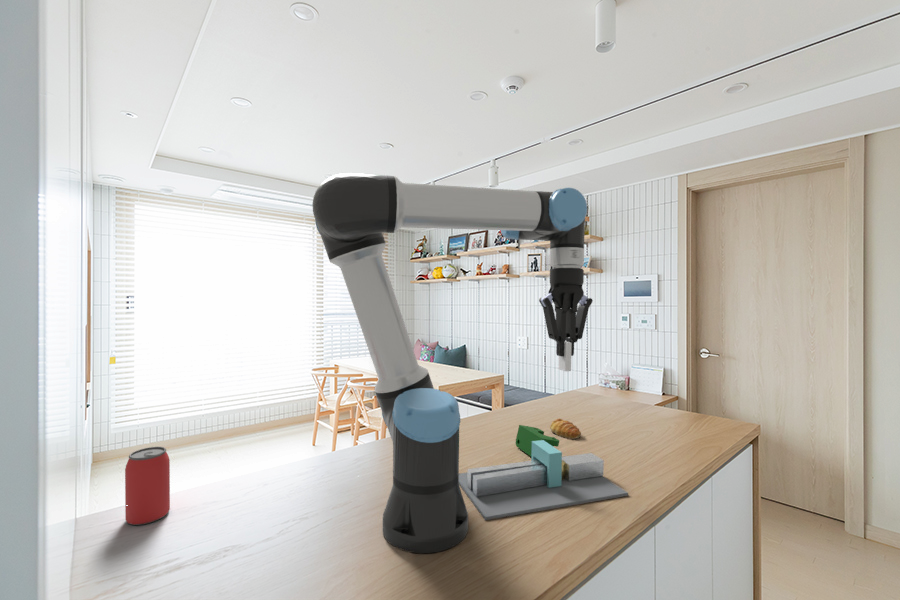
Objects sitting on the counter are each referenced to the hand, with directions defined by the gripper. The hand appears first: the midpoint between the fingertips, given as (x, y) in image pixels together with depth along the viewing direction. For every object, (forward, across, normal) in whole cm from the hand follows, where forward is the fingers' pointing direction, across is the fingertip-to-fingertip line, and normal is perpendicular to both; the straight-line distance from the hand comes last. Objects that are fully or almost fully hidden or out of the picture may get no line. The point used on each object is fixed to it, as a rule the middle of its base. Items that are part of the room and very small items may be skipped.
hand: (564, 370), depth 95 cm
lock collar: (+23, -6, -3) cm, 24 cm away
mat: (+24, -9, -4) cm, 26 cm away
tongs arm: (+23, -14, -5) cm, 28 cm away
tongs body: (+24, -8, -3) cm, 25 cm away
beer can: (+25, -84, +6) cm, 88 cm away
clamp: (+24, +1, +13) cm, 28 cm away
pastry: (+25, +16, +24) cm, 38 cm away
